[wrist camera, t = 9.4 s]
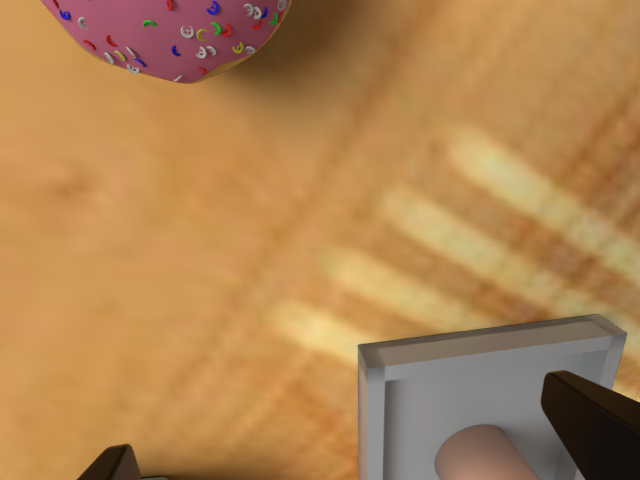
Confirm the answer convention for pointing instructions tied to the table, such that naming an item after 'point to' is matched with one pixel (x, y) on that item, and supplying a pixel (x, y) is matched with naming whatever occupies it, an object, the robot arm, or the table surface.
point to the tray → (474, 392)
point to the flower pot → (156, 479)
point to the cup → (481, 456)
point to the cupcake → (171, 33)
